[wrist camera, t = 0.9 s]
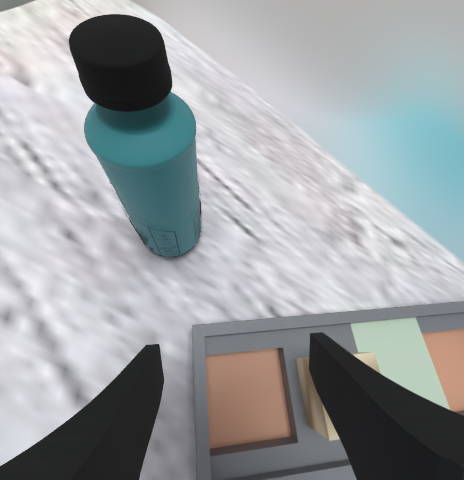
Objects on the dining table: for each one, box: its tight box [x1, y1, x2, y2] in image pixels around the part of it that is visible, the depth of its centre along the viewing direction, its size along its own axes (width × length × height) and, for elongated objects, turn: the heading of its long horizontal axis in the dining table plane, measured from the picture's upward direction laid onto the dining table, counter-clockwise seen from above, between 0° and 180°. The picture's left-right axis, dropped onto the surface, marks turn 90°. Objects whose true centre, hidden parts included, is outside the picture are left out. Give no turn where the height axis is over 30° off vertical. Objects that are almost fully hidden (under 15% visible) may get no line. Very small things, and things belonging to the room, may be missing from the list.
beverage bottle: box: [69, 14, 202, 256], centre depth 20 cm, size 6×7×20 cm
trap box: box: [192, 301, 464, 480], centre depth 23 cm, size 12×30×3 cm, turn 95°
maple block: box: [296, 352, 381, 441], centre depth 20 cm, size 5×5×4 cm
